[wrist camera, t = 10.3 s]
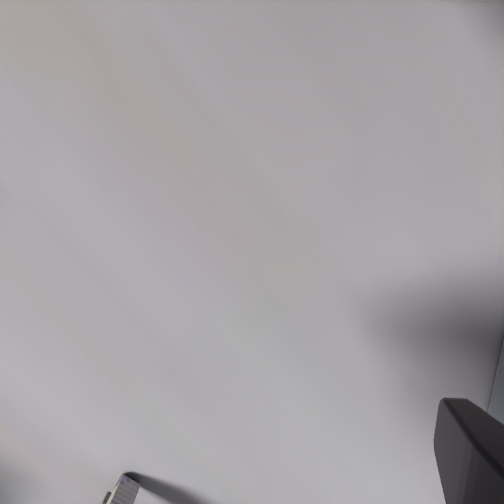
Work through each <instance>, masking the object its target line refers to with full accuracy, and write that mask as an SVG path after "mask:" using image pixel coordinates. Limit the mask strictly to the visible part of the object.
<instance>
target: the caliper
mask: <svg viewBox="0 0 504 504" xmlns="http://www.w3.org/2000/svg"><path fill="white" fill-rule="evenodd" d="M139 487H140V484H139V483H137V482H136V481H134V480H132V479H130V478H129V477H127V476H125V475H124V474H122V475H121V476H120V478H119V480H118V482H117V484H116V486H115V488H114V490H113V492H112V493H110V492H108V493H107V494H106V495H105V497H104V498H103V500H102V502H101V503H100V504H133V503H134V500H135V498H136V495H137V493H138V490H139Z"/></svg>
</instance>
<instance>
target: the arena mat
mask: <svg viewBox="0 0 504 504" xmlns="http://www.w3.org/2000/svg"><path fill="white" fill-rule="evenodd" d="M487 413H488V414H490V415H491V416H492V417H494V418H495V419H497V420H498V421H500V422H501V423H502V424H504V338H503V343H502V348H501V352H500V357H499V361H498V366H497V370H496V375H495V379H494V384H493V389H492V393H491V398H490V402H489V407H488V411H487Z"/></svg>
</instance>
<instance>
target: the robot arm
mask: <svg viewBox="0 0 504 504" xmlns="http://www.w3.org/2000/svg"><path fill="white" fill-rule="evenodd" d="M434 452H435V457H436V461H437V466H438V470H439V475H440V479H441V484H442V488H443V493H444V497H445V502H446V504H504V424H502V423H501V422H500V421H498V420H497V419H495V418H494V417H492V416H491V415H490V414H488V413H487V412H485V411H484V410H482V409H481V408H480V407H478V406H477V405H475V404H474V403H472V402H471V401H469V400H468V399H464V398H443V399H442V400H441V401H440V403H439V407H438V414H437V421H436V427H435V434H434Z"/></svg>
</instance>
